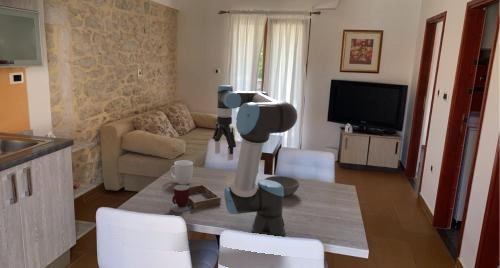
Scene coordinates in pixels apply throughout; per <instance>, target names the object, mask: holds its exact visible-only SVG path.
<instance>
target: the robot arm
mask: <svg viewBox="0 0 500 268" xmlns="http://www.w3.org/2000/svg"><path fill="white" fill-rule="evenodd" d="M216 102H217V103H216V104H217V107H216V108H217V110H216V115H217V116H216V123H215V129H214V132H213V136H212V139H213V140H214V154H221V139H222V137H223V136H224V137H225V140H226V142H227V143H226V144H227V161H233V160H234V148H237V144H236V139H235V133H234V127H231V125H232V123H233V117H232V116H233V109H237V108H238V110H237V113H236V117H235V122H236V123H235V128H236V132H238V134H239V137H240V138H241V144H240V149H239V156H238V160H237V161H238V162H237V164H236V165H237V167H236V171H235V176H234V177H235V178H234V179H233V180H232V181H231V183H229V185H230V186H229V187H228V186H227V187H225V188H224V190H223V192H224V193H223V194H224V195H223V196H224V201H225V203H224V204H225V206H226V209H227V212H228V213H229V214H230V215H240V214H241V215H242V214H248V213H249V214H250V213H256V215H255V217H254V220H253V222H252V228H251V230H252V233H253V234H254V233H259V234H267V235H274V236H281V237H282V236H284V234H285V233H286V225H285V221H284V218H283V211H284V210H283V208H284V207H283V206H284V197H285V196H284V189H283V186H282V185H281V184H280V183H278V182H275V181H271V180H264V179H261V180H260V179H259V180H258V182H257V184H256V180H257V175H258V171H259V166H260V162H261V157H262V153H263V150H264V149H263V148H264V144H265V143H267V142H268V141H269V140H270V135H271V134H280V133H281V134H282V133H286V132H287V131H290V130H291V129H292V128H293V127H294V126H295V125H296V123H297V121H298V111H297V108H295V106H294V105H293V104H291V103H289V102H287V101H279V100H277V99H274V98H272V97H270V96H269V94H268V92H267V91H237V90H236V91H234V87H233V85H231V84H230V85H229V84H220V85H218V86H217V101H216Z"/></svg>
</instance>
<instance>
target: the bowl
mask: <svg viewBox="0 0 500 268" xmlns="http://www.w3.org/2000/svg"><path fill="white" fill-rule="evenodd" d="M263 180H271V181H275V182H278V183H280V184H281V185H282V186H283V189H284V196H283V197H288V196H291V195H293V194H294V193H296V191H297V190H298V188H299V187H300V182H299V180H297V178H293V177H289V176H284V175H283V176H282V175H276V176H275V175H273V176H268V177H266V178H264V179H263Z"/></svg>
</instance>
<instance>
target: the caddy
mask: <svg viewBox="0 0 500 268" xmlns="http://www.w3.org/2000/svg"><path fill="white" fill-rule="evenodd" d="M189 187H190V193H189V195H190V194H191V195H192V194H197V193H204V194H205V195H206V196H208V197H209V198H208V199H203V200H198V201H195V200H194V199H193V198H192V197H191V196H189V198H188V202H187V204H189V205H190V208H192V209H193V210H201V209H205V208H210V207H214V206H220V205H221V204H222V203H221V202H222V201H221V200H222V197H221V196H220V195H219V194H217V193H215V191H213V190H211V189H210V188H209V187H207V186H206V185H205V184H198V185H192V186H189Z"/></svg>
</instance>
